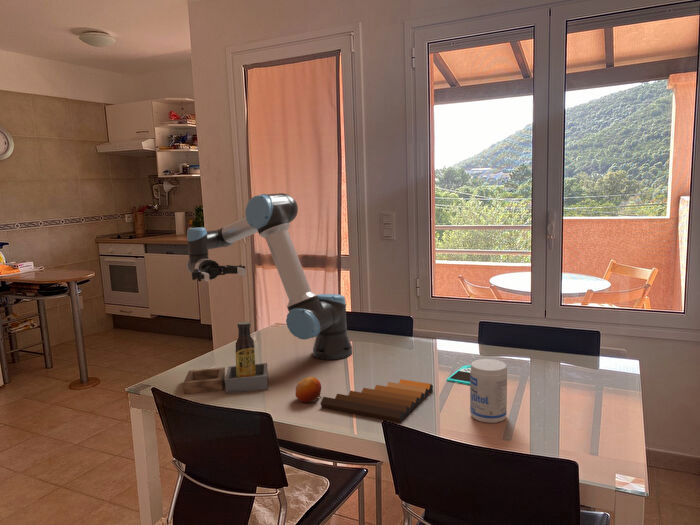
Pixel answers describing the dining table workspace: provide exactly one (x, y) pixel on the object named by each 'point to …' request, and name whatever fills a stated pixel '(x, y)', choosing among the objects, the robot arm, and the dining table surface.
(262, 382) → the grey square tray
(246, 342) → the sauce bottle
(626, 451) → the dining table surface
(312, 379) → the fruit
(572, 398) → the dining table surface
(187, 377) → the walnut holder
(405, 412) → the brown ridged flat piece
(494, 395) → the supplement tub
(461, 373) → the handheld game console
